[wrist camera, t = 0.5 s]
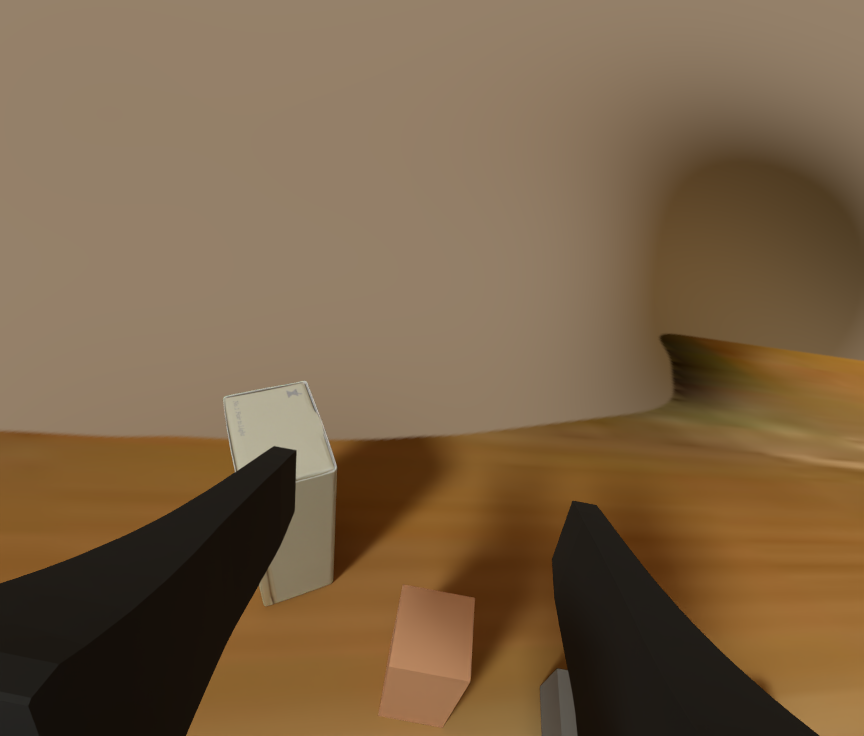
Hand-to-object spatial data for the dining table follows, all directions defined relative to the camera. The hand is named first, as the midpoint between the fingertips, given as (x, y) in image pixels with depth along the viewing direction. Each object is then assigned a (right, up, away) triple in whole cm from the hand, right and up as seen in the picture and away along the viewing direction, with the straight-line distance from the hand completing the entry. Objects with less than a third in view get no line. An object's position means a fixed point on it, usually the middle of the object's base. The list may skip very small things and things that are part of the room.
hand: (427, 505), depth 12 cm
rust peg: (-1, -14, +14) cm, 19 cm away
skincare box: (-9, -8, +18) cm, 22 cm away
